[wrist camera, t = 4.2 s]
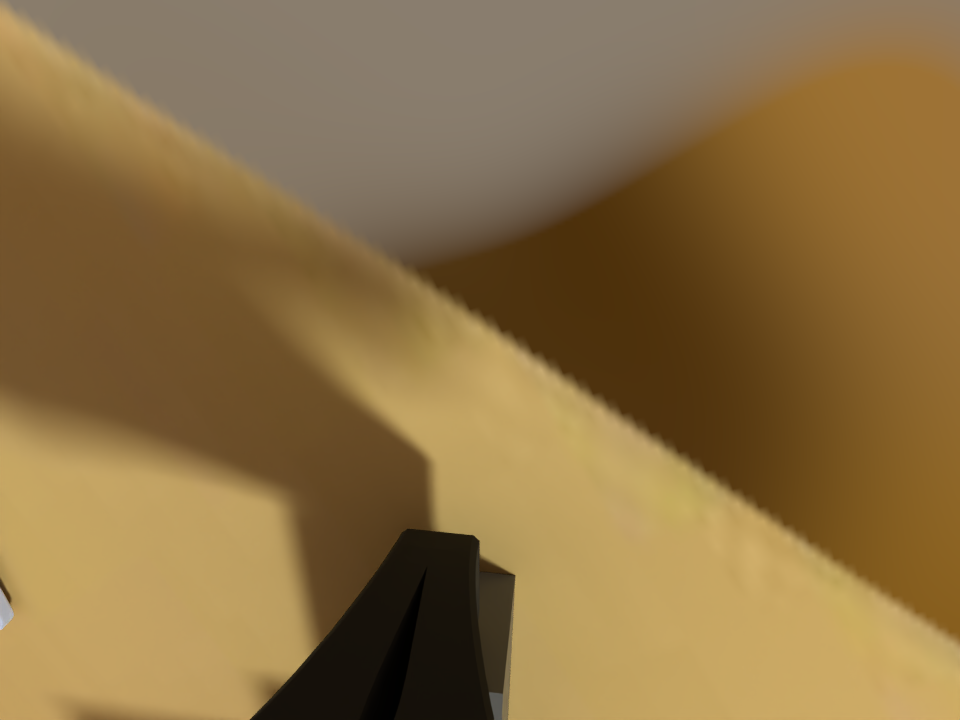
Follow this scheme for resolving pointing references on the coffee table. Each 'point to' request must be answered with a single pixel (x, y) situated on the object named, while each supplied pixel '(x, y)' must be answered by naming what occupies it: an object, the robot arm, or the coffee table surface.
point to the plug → (497, 636)
